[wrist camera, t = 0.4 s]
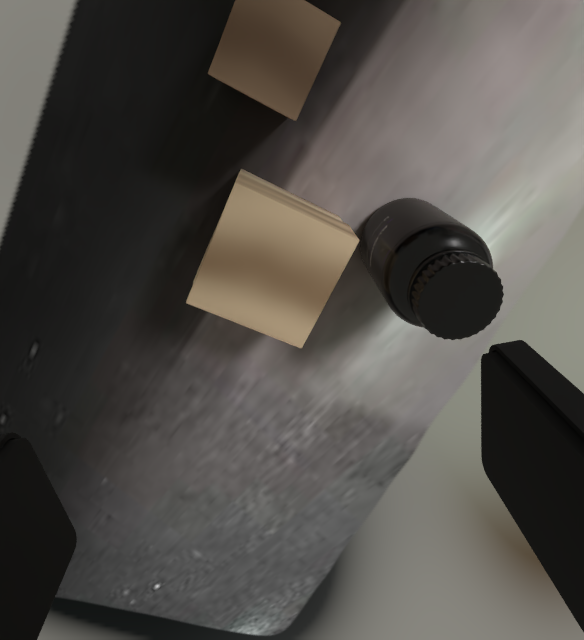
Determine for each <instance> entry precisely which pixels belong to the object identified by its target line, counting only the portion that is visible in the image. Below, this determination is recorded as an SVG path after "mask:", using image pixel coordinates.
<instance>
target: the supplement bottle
mask: <svg viewBox="0 0 584 640" xmlns="http://www.w3.org/2000/svg"><path fill="white" fill-rule="evenodd" d="M360 250H361V256H362V259H363V262H364V264H365V266H366V268H367V270H368V272H369V273H370V275H371V277H372V278H373V280H374V282H375V283H376V285H377V287H378V288H379V290H380V292H381V293H382V295H383V297H384V298H385V300H386V302H387V303H388V305H389V306H390V308H391V309H392V310H393V311H394V313H395V314H396V315H397V316H398V317H400V318H401V319H403V320H404V321H406V322H408V323H410V324H412V325H415V326H419V327H424V328H425V329H427V330H428V331H429V332H430V333H431V334H435V335H436V336H437V337H442V338H443V339H451V340H455V339H463V338H465V337H470V336H471V335H474V334H477V333H478V332H479V331H481V330H483V329H484V328H485V327H486V326H487V325H489V324H490V323H491V321H492V320H493V319H494V318H495V317H496V314H497V313H498V312H499V310H500V306H501V304H502V303H503V301H502V298H503V295H504V294H503V291H502V290H503V286H502V284H501V279H500V278H499V277H498V275H497V272H496V271H495V270H493V262H492V257H491V254H490V251H489V249H488V247H487V245H486V243H485V242H484V241H483V240H482V238H481V237H480V236H479V235H477V234H476V233H475V232H474V231H473V230H471V229H470V228H468V227H467V226H465V225H464V224H462V223H460V222H459V221H457V220H456V219H454V218H453V217H451V216H450V215H448V214H446V213H445V212H443V211H442V210H440V209H439V208H437V207H435V206H434V205H432V204H430V203H428V202H426V201H424V200H420V199H416V198H403V199H398V200H394V201H392V202H389V203H387V204H385V205H384V206H382V207H381V208H379V209H378V210H377V211H376V212H375V213H374V214H373V215H372V216H371V217H370V219H369V220H368V222H367V223H366V225H365V227H364V230H363V232H362V236H361V242H360Z"/></svg>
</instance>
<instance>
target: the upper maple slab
mask: <svg viewBox="0 0 584 640" xmlns="http://www.w3.org/2000/svg"><path fill="white" fill-rule="evenodd" d="M359 241H360V240H359V239H358V237H357V236H356V235H355V233H354V232H353V230H352V229H351V228H350V226H349V225H348V224H346V223H343V222H341V221H339V220H337V219H335V218H333V217H331V216H329V215H327V214H324V213H322V212H320V211H318V210H316V209H314V208H312V207H310V206H308V205H305V204H303V203H301V202H299V201H297V200H295V199H293V198H291V197H288V196H286V195H284V194H282V193H280V192H278V191H276V190H274V189H272V188H269V187H267V186H265V185H263V184H261V183H259V182H257V181H255V180H253V179H250V178H248V177H246V176H244V175H242V174H240V173H239V174H238V176H237V179H236V181H235V183H234V186H233V188H232V191H231V193H230V196H229V198H228V201H227V203H226V205H225V208H224V210H223V213H222V215H221V218H220V220H219V222H218V225H217V227H216V230H215V232H214V235H213V237H212V240H211V242H210V244H209V247H208V249H207V252H206V254H205V257H204V259H203V261H202V264H201V266H200V269H199V271H198V274H197V276H196V279H195V281H194V283H193V286H192V289H191V291H190V294H189V296H188V299H187V301H186V303H187V304H190V305H192V306H195V307H197V308H200V309H202V310H205V311H207V312H210V313H212V314H215V315H218V316H220V317H223V318H225V319H228V320H230V321H233V322H235V323H238V324H240V325H243V326H245V327H248V328H250V329H253V330H256V331H258V332H261V333H263V334H266V335H268V336H271V337H273V338H276V339H278V340H281V341H283V342H286V343H288V344H291V345H293V346H296V347H299V348H301V349H302V347H303V345H304V343H305V341H306V339H307V338H308V336H309V334H310V332H311V330H312V328H313V326H314V325H315V323H316V321H317V319H318V317H319V315H320V313H321V311H322V310H323V308H324V306H325V304H326V302H327V300H328V298H329V297H330V295H331V293H332V291H333V289H334V287H335V285H336V284H337V282H338V280H339V278H340V276H341V274H342V272H343V270H344V269H345V267H346V265H347V263H348V261H349V259H350V257H351V256H352V254H353V252H354V250H355V248H356V246H357V244H358V243H359Z"/></svg>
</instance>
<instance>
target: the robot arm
mask: <svg viewBox="0 0 584 640" xmlns="http://www.w3.org/2000/svg"><path fill="white" fill-rule="evenodd" d="M481 418H482V419H481V423H482V424H481V431H482V432H481V436H482V437H481V442H482V443H481V447H482V463H483V467H484V470H485V472H486V475H487V476H488V478H489V480H490V481H491V483H492V485H493V486H494V488H495V489H496V491H497V493H498V494H499V496H500V498H501V499H502V501H503V502H504V504H505V506H506V507H507V509H508V511H509V512H510V514H511V515H512V517H513V519H514V520H515V522H516V523H517V525H518V527H519V528H520V530H521V532H522V533H523V535H524V536H525V538H526V540H527V541H528V543H529V545H530V546H531V548H532V549H533V551H534V553H535V554H536V556H537V558H538V559H539V561H540V562H541V564H542V566H543V567H544V569H545V571H546V572H547V574H548V575H549V577H550V578H551V580H552V582H553V583H554V585H555V587H556V588H557V590H558V591H559V593H560V595H561V596H562V598H563V599H564V601H565V603H566V605H567V606H568V608H569V609H570V611H571V613H572V614H573V616H574V618H575V619H576V621H577V622H578V624H579V626H580V627H581V629H582V630H583V632H584V394H583V393H582V392H581V391H580V390H579V389H578V388H577V387H575V386H574V385H573V384H572V383H571V382H570V381H569V380H567V379H566V378H565V377H564V376H563V375H562V374H561V373H560V372H558V371H557V370H556V369H555V368H554V367H553V366H552V365H550V364H549V363H548V362H547V361H546V360H545V359H544V358H543V357H541V356H540V355H539V354H538V353H537V352H536V351H535V350H533V349H532V348H531V347H530V346H529V345H528V344H527V343H526V342H524V341H522V340H517V341H512V342H506V343H501V344H496V345H492V346H491V347H490V349H489V353H486V354H483V355H482V358H481ZM75 547H76V532H75V529H74V527H73V525H72V523H71V521H70V519H69V517H68V516H67V514H66V512H65V510H64V508H63V506H62V504H61V502H60V500H59V498H58V496H57V494H56V492H55V490H54V488H53V486H52V485H51V483H50V481H49V479H48V477H47V475H46V473H45V471H44V469H43V467H42V465H41V463H40V461H39V459H38V457H37V455H36V454H35V452H34V450H33V448H32V446H31V444H30V442H29V441H28V440H27V439H25V438H21V437H20V436H19V435H18V434H16V433H8V434H2V435H0V640H37V638H38V636H39V633H40V631H41V629H42V626H43V624H44V621H45V619H46V617H47V614H48V612H49V610H50V607H51V605H52V603H53V600H54V598H55V595H56V593H57V591H58V588H59V586H60V584H61V581H62V579H63V576H64V574H65V572H66V569H67V567H68V565H69V562H70V560H71V557H72V555H73V553H74V550H75Z"/></svg>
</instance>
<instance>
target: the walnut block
mask: <svg viewBox="0 0 584 640" xmlns="http://www.w3.org/2000/svg"><path fill="white" fill-rule="evenodd" d="M340 24H341V22H340V21H338V20H336V19H335V18H333V17H331V16H330V15H328V14H326V13H325V12H323V11H322V10H320V9H318V8H317V7H315V6H313V5H312V4H310V3H308V2H307V1H305V0H235V2H234V5H233V8H232V10H231V13H230V16H229V18H228V21H227V24H226V26H225V29H224V32H223V34H222V37H221V40H220V42H219V45H218V48H217V50H216V53H215V56H214V58H213V61H212V64H211V66H210V69H209V71H208V74H209V75H211V76H212V77H214V78H216V79H217V80H219V81H221V82H223V83H224V84H226V85H228V86H230V87H232V88H234V89H236V90H237V91H239V92H241V93H243V94H245V95H247V96H249V97H250V98H252V99H254V100H256V101H258V102H260V103H262V104H263V105H265V106H267V107H269V108H271V109H273V110H275V111H276V112H278V113H280V114H282V115H284V116H286V117H288V118H290V119H292V120H294V121H296V120H297V118H298V116H299V113H300V111H301V109H302V107H303V105H304V103H305V100H306V98H307V96H308V94H309V92H310V89H311V87H312V85H313V83H314V81H315V78H316V76H317V74H318V72H319V70H320V68H321V65H322V63H323V61H324V59H325V57H326V54H327V52H328V50H329V48H330V46H331V44H332V41H333V39H334V37H335V35H336V33H337V30H338V28H339V26H340Z"/></svg>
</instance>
